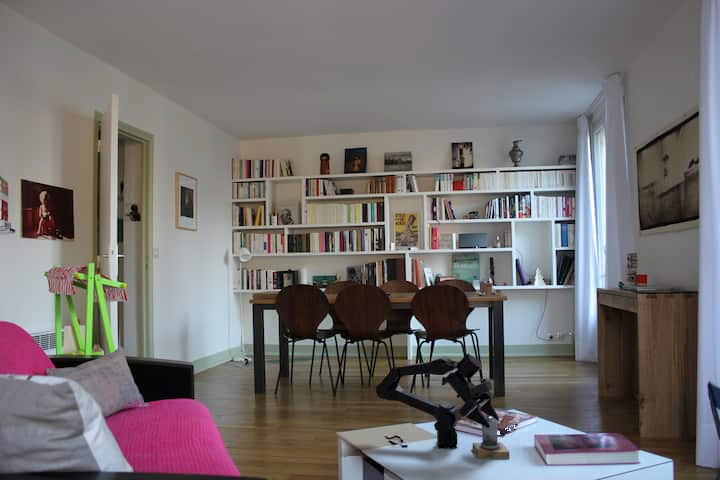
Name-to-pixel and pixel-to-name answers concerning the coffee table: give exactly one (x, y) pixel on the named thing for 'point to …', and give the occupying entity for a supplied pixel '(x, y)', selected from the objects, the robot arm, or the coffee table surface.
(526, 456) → the coffee table surface
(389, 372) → the robot arm
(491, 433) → the cylinder
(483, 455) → the stand
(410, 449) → the coffee table surface
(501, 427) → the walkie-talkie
